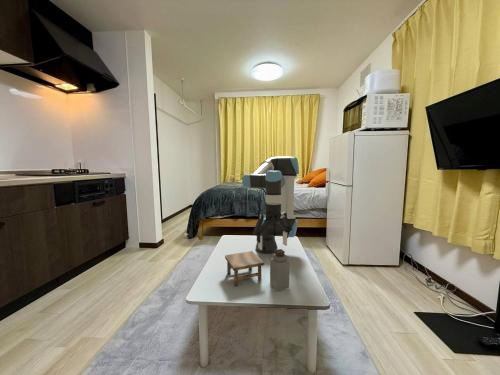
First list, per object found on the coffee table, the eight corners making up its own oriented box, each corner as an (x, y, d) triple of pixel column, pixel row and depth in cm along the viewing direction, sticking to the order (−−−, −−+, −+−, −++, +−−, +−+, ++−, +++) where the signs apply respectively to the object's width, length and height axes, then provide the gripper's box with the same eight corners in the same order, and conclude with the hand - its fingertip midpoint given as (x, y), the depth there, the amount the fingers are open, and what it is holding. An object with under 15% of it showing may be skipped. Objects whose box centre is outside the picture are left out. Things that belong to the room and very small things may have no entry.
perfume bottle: (270, 284, 109) (270, 249, 107) (281, 281, 111) (282, 247, 110) (276, 291, 103) (277, 254, 101) (289, 288, 105) (289, 252, 103)
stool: (252, 267, 126) (252, 251, 125) (264, 281, 112) (264, 262, 111) (225, 272, 120) (224, 255, 120) (234, 287, 106) (233, 267, 105)
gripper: (291, 200, 112) (290, 240, 114) (245, 203, 103) (245, 247, 105) (299, 202, 106) (298, 245, 107) (252, 206, 96) (252, 253, 98)
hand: (272, 246), depth 106 cm, fingers open, 13 cm apart
